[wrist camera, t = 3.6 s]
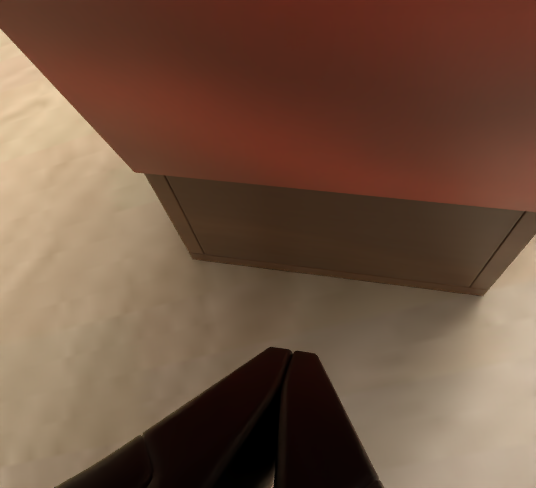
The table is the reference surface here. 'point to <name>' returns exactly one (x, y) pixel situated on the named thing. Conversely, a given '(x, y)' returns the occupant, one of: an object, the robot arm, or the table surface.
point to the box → (345, 233)
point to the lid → (303, 90)
